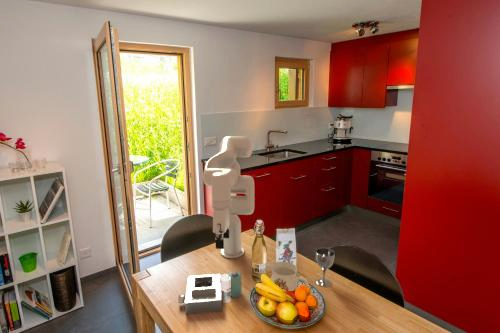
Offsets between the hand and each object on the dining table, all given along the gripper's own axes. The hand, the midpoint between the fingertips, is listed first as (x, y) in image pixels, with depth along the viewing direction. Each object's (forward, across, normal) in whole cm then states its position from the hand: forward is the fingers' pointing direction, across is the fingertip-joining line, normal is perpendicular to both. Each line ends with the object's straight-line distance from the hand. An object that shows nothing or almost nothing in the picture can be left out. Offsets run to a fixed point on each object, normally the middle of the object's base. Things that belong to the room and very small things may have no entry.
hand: (222, 242), depth 127 cm
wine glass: (+23, -14, +42) cm, 50 cm away
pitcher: (+24, -1, +26) cm, 35 cm away
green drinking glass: (+23, -1, +5) cm, 24 cm away
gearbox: (+23, +4, -9) cm, 25 cm away
